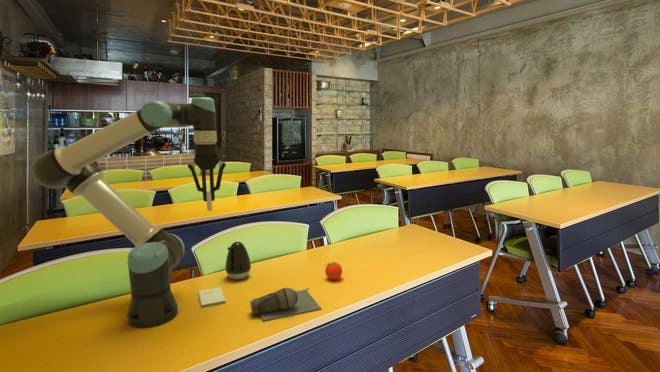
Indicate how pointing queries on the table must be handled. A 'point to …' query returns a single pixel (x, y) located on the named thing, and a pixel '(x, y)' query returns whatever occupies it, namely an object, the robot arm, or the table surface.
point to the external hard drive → (211, 297)
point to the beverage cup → (275, 301)
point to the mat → (302, 306)
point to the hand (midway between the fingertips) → (209, 210)
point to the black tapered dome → (237, 261)
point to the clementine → (333, 270)
